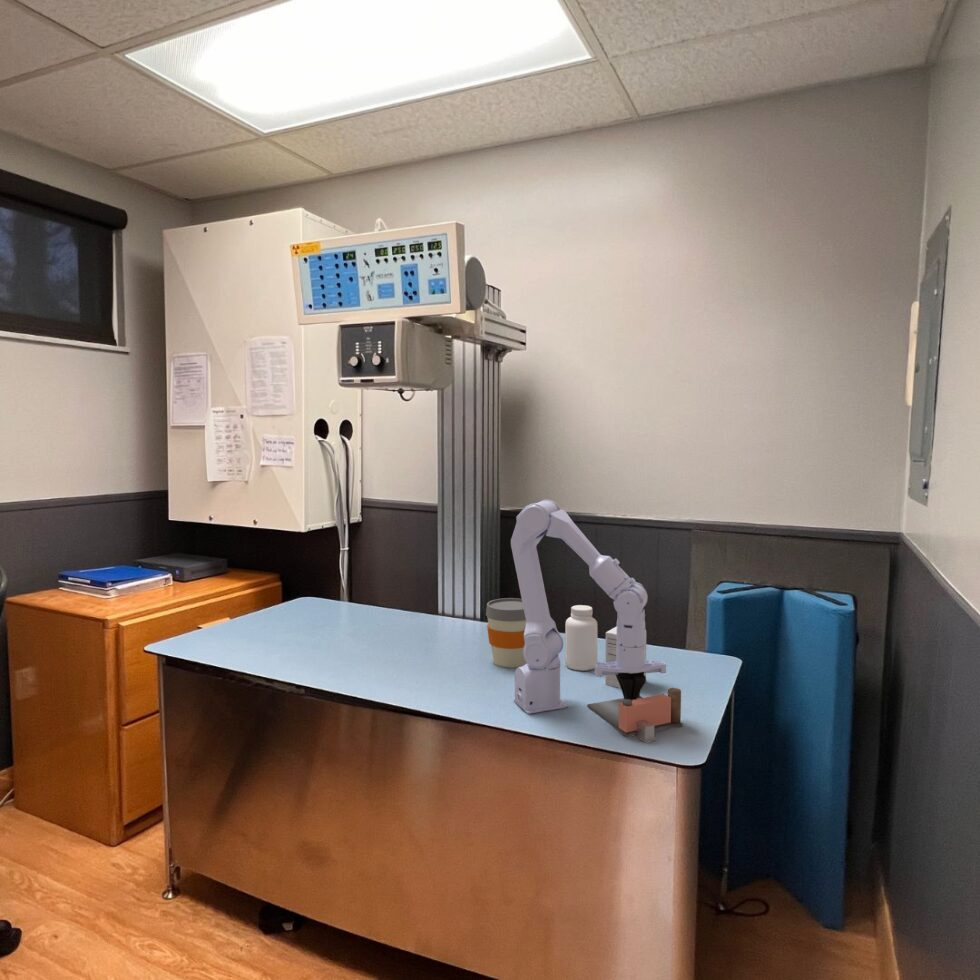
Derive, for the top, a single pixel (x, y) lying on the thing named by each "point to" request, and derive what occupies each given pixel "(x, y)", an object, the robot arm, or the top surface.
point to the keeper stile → (645, 731)
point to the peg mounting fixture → (611, 708)
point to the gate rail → (644, 711)
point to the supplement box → (613, 655)
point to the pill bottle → (581, 639)
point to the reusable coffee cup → (506, 631)
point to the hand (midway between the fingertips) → (629, 707)
